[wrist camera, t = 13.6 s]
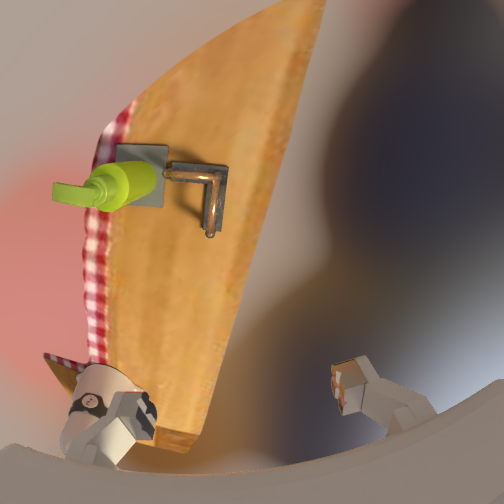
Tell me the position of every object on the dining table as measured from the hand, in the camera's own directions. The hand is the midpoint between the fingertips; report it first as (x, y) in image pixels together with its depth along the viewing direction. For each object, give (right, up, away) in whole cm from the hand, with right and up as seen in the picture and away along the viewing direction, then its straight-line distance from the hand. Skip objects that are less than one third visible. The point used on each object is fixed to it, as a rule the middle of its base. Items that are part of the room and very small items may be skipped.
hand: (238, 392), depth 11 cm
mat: (-18, +18, +32) cm, 41 cm away
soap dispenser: (-18, +18, +31) cm, 40 cm away
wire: (-9, +15, +34) cm, 38 cm away
